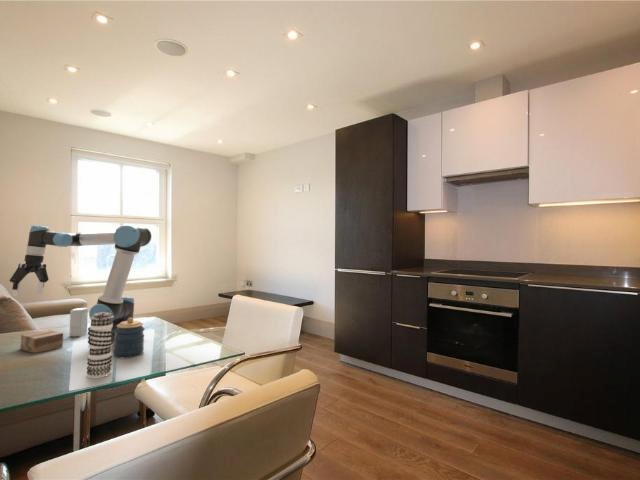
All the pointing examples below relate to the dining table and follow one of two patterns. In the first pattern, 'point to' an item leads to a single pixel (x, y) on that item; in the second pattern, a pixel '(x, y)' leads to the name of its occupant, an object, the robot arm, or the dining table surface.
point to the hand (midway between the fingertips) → (27, 295)
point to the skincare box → (78, 321)
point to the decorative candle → (100, 345)
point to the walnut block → (41, 341)
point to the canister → (129, 339)
